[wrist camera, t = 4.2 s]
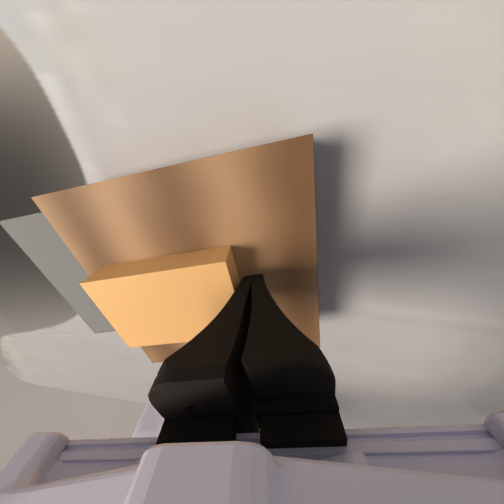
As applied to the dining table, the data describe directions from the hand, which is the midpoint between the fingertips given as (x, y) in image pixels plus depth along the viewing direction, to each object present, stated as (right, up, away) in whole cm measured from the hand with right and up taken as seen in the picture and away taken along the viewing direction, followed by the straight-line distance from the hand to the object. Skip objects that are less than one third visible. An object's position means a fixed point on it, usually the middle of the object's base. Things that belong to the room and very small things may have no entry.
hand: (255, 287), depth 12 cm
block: (-5, -1, +1) cm, 6 cm away
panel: (-4, +2, +5) cm, 6 cm away
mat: (-16, 0, +6) cm, 17 cm away
